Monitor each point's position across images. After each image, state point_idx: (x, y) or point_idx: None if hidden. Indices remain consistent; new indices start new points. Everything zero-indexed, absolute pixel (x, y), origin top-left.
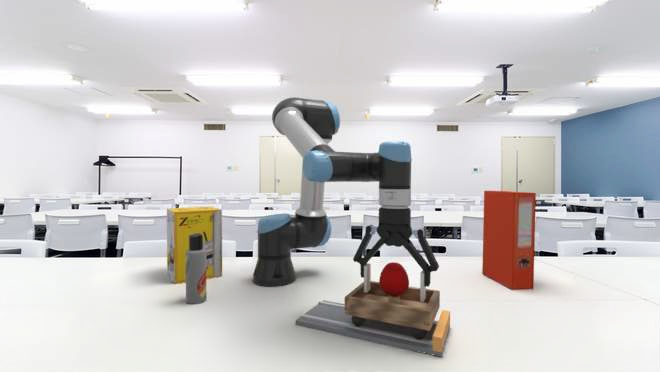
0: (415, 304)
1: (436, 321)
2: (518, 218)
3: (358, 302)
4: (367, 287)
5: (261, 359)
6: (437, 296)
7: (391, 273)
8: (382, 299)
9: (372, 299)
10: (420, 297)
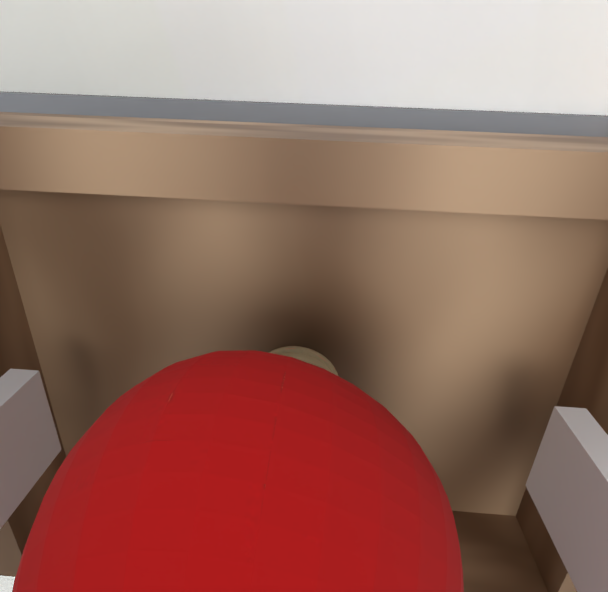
0: (456, 274)
1: (573, 127)
2: None
3: None
4: (31, 468)
5: (6, 583)
6: None
7: None
8: (169, 268)
9: (99, 298)
10: (541, 515)
